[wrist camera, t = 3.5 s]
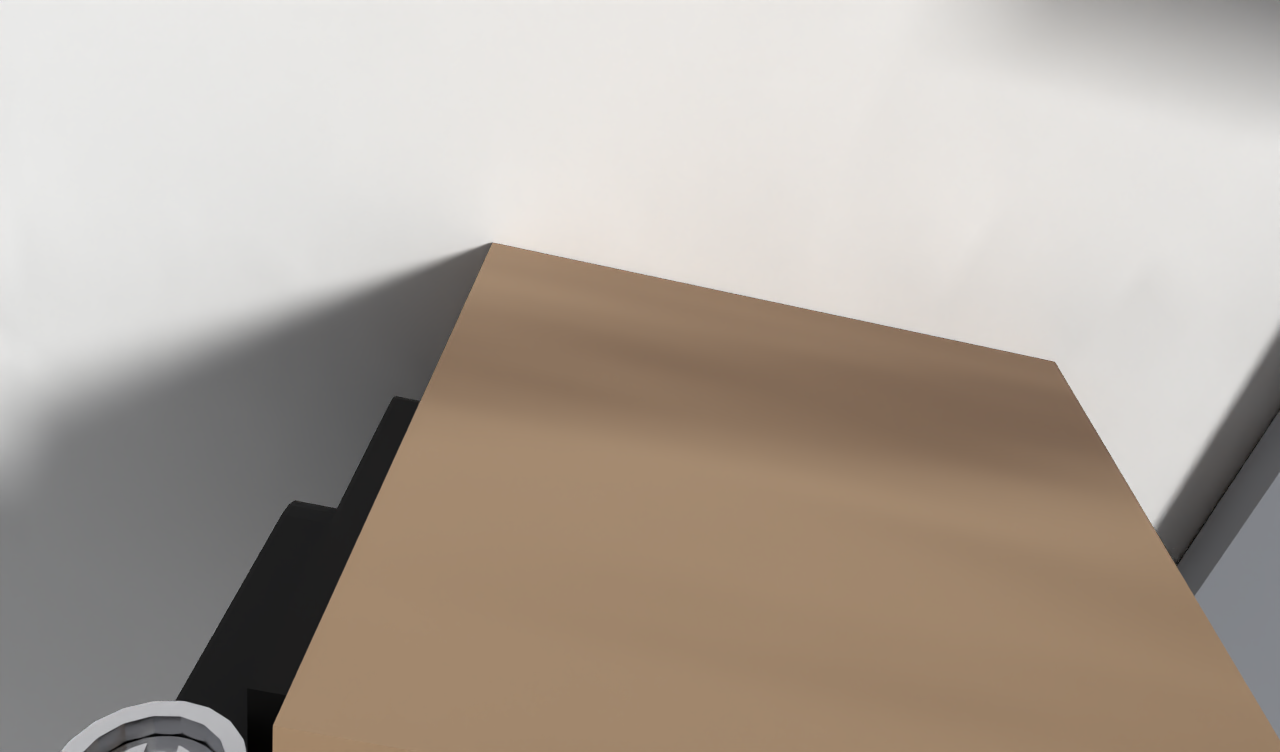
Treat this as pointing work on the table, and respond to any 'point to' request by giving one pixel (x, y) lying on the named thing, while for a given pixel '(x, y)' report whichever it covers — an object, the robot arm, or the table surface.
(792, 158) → the table surface
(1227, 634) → the arena
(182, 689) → the robot arm
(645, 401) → the brown cardboard box
